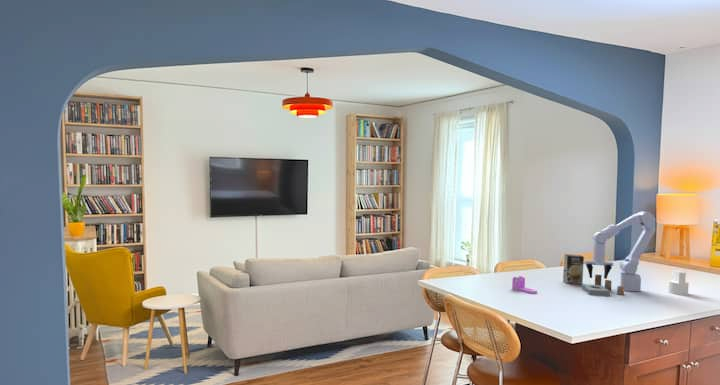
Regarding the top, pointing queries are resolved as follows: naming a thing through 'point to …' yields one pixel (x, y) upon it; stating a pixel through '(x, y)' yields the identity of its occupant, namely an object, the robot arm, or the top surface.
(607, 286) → the mid dowel
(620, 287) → the short dowel
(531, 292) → the bracket
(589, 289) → the hole board
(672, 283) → the base with upright slab
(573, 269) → the coffee box
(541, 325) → the top surface
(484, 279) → the top surface
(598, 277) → the tall dowel
